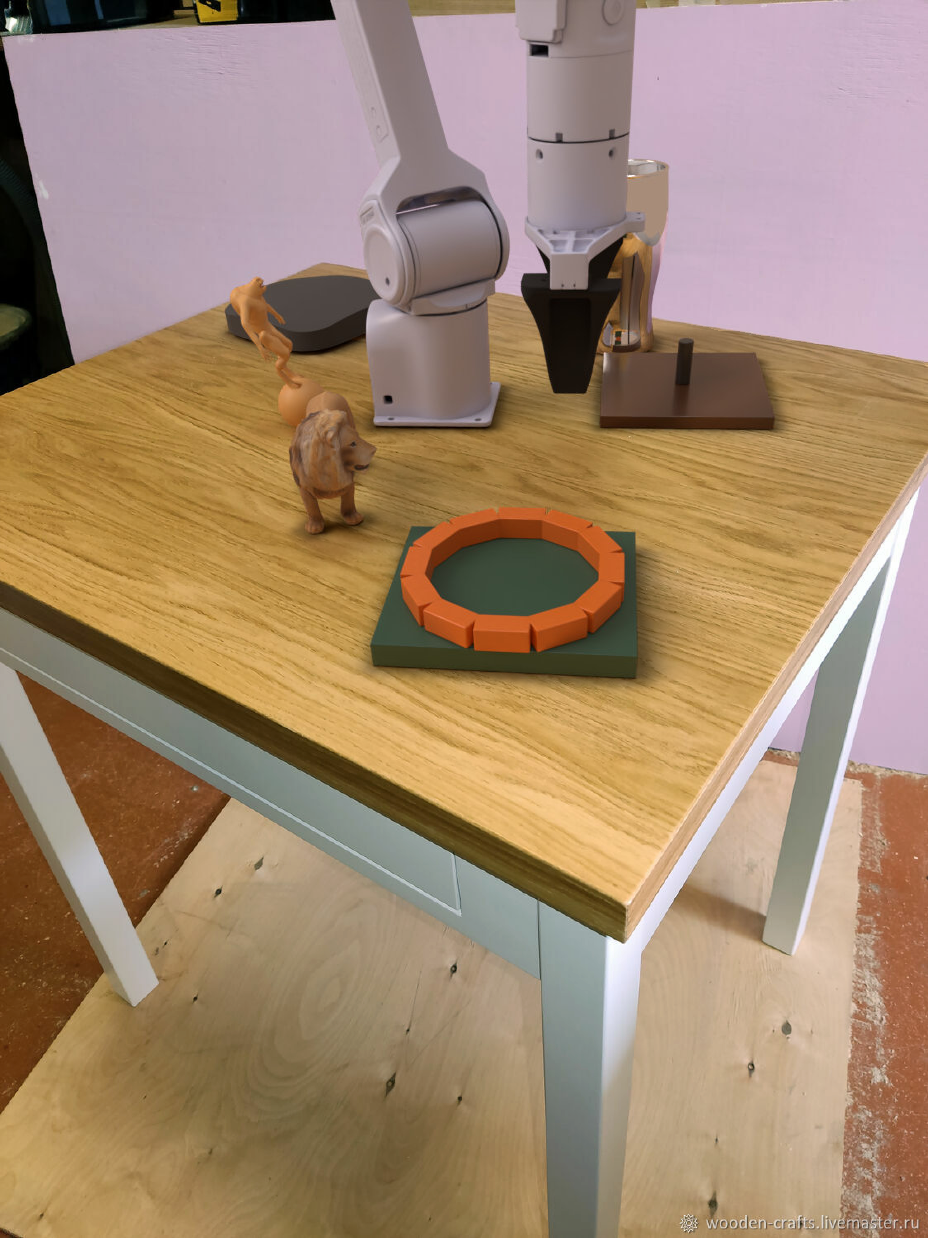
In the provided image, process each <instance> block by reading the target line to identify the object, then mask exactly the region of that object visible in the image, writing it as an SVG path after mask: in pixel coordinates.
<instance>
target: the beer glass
mask: <svg viewBox="0 0 928 1238" xmlns="http://www.w3.org/2000/svg"><path fill="white" fill-rule="evenodd" d="M669 179H670V165H669V164H668V163H666V162H664V161H661V160H655V159H645V158H628V176H627V196H626V211H627V212H643V213H645V218H646V220H645V230H644V231H642V232H634V233H626V234H624V236H623V244H622V246H621V247H620V249H619V251H618V253H617V255H616V257H615V259H614V261H613V264H612V266H611V269H610V271H609V274H608V278H621V279H622V281H621V290H620V293H619V295H618V297H617V299H616V301H615V303H614V305H613V306H612V308H611V310H610V312H609V314H608V316H607V318H606V320H605V323H604V326H603V328H602V331H601V335H600V338H599V342H598V347H597V351H596V354H599V355H603V353H648V351H650V350H651V349H652V348H653V347H654V345H655V335H654V326H653V300H654V295H655V290H656V285H657V280H658V277H659V272H660V268H661V265H662V261H663V255H664V251H665V246H666V240H667V234H668V224H669V211H670V210H669V207H670V184H669V183H670V180H669Z"/></svg>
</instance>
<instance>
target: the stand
mask: <svg viewBox="0 0 928 1238" xmlns="http://www.w3.org/2000/svg"><path fill="white" fill-rule="evenodd" d="M435 527H436V526H431V525H430V526H428V525H427V526H426V525H411V526H410V529H409V533H408V535H407V537H406V540H405V544H404V547H403V550H402V552H401V555H400V557H399V561H398V564H397V566H396V569H395V573H394V575H393V578H392V581H391V583H390V587H389V589H388V592H387V595H386V598H385V601H384V603H383V606H382V609H381V612H380V615H379V617H378V621H377V623H376V626H375V629H374V631H373V635H372V636H371V641H370V643H369V646H370V651H371V653H370V654H371V659H372V665H373V666H378V667H382V666H383V667H400V668H401V667H402V668H418V669H419V668H420V669H439V670H460V671H461V670H462V671H483V672H501V673H502V672H504V673H520V674H521V673H523V674H525V673H526V674H543V675H544V674H545V675H563V676H580V677H581V676H583V677H605V678H622V679H623V678H624V679H625V678H626V679H636V678H637V670H638V657H639V656H638V655H639V654H638V653H639V652H638V602H637V601H638V597H637V594H638V593H637V592H638V591H637V540H636V539H637V537H636V534H637V533H636V531H623V530H622V531H621V530H619V531H618V530H617V531H616V530H603V531H604V532H605V533H606V534H607V535H608V536H609V537H610V538H612V539H613V540H614V541H615V542H616V543H617V544H618V545H619V546H620V547H621V548H622V553H624V554H625V583H624V599H623V602H621V607H620V608H619V609H618V610H617V611H616V612H615V613H614V614H613V615H612V616H611V617H609V618H608V619H607V620H606V621H605V622H604V623H603V624H602V625H601V626H600V627H599V628H598V629H597V630H596V631H595V632H594V633H591V632H588V631H587V637H586V638H583V639H579V640H576V641H573V642H569V643H566V644H563V645H560V646H556V647H553V648H550V649H547V650H543V651H540V652H537V651H536V649H535V648H534V647H533V645H532V644H531V647H530V652H529V653H519V652H497V651H476V650H475V649H474V643H473V644H472V645H470V646H469V647H468V648H464V647H462V646H460V645H457V644H455V643H453V642H451V641H449V640H446V639H444V638H442V637H440V636H437V635H435V634H433V633H431V632H429V631H426V630H425V625H424V626H420V625H419V624H418V622H417V620H416V619H415V617H414V615H413V614H412V612H411V611H410V609H409V607H408V606H407V604H406V602H405V601H404V599H403V594H402V586H401V577H400V574H401V571H402V568H403V565H404V562H405V559H406V556H407V553H408V550H409V547H413V542H415V541H416V540H418V539H419V538H421V537H422V536H423V535H425V534H426V533H428V532H429V531H431V530H432V529H433V528H435ZM598 580H599V573H598V572H597V571H596V570H595V569H594V567H593V566H592V565H591V564H590V563H589V562H588V561H587V560H586V559H585V558H584V557H583V556H582V555H581V554H580V553H579V552H578V551H575V550H573V549H570V548H567V547H564V546H561V545H558V544H556V543H553V542H550V541H547V540H544V539H528V538H497V539H493V540H489V541H485V542H482V543H478V544H474V545H470V546H467V547H463V548H461V549H459V550H458V551H457V552H455V553H454V554H452V555H451V556H450V557H448V558H447V559H446V560H444V561H443V562H442V563H440V564H439V565H438V566H436V567H435V568H434V571H433V574H432V577H431V581H430V582H431V584H432V585H433V587H434V588H435V590H436V591H437V593H438V594H439V596H440V597H441V599H444V600H446V601H449V602H451V603H453V604H456V605H458V606H460V607H463V608H465V609H468V610H470V611H472V612H475V613H477V614H481V615H506V616H531V615H534V614H538V613H541V612H544V611H548V610H551V609H555V608H558V607H561V606H565V605H568V604H572V603H574V602H575V601H576V600H577V599H578V598H580V597H581V596H582V595H583V594H584V593H585V592H586V591H587V590H588V589H589V588H591V587H592V586H593V585H594V584H595V583H596V582H597V581H598Z"/></svg>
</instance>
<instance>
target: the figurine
mask: <svg viewBox="0 0 928 1238" xmlns="http://www.w3.org/2000/svg"><path fill="white" fill-rule="evenodd" d="M264 283H265V281H264V279H262V278H261V277H260V276H255V277H253V278H252V279H251V280H250V281H249V282H248V283H246V284H243V285H240V286H237V287H234V288H233V289H232V290H231V292H230V294H229V301H230V303H231V304H232V306H233V308H234V310H235V311H236V312H237V313H238V314H239V315H240V317H241V324H242V326H243V328H244V330H245V331H246V332H247V334H248V335H249V336H250V338H251V339H252V340H251V341H252V343H253V344H254V345H255V346H256V347H257V349H258V350H259V353H260V355H261V356H262V358H263V359H264V362H265V363H266V364H268V362H269V363H272V361H274V358H273V357H272V356H271V355H270V354H272V353H273V354H274V355H276V356H277V360H276V361H275V363H274V367H275V371H276V374H277V375H278V376H279V378H280V379H282V380H283V382H285V384H284V385H283V387H282V388H281V390H280V392H279V393H278V396H277V397H278V398H277V407H278V411H279V413H280V416H281V418H282V419H283V420H284V421H285V422H286V423H287V424H288V425H290V426H292V427H294V428H295V429H296V428H297V426H298V425H299V424H301V420H302V419H305V418H306V408H307V405H308V403H309V401H310V400H311V399H312V398H313V397H315V396H317V395H319V394H321V393H323V392H325V391H326V390H325V389H324V388H323V386H322V385H321V384H320V383H318V382H317V381H315V380H314V379H311V378H307V377H305V376H304V375H303V374H301V373H296V372H294V371H293V370H292V369H291V368H289V367H288V366H287V363H288V362H289V360H290V358H291V357H290V356H291V352H292V347H293V344H292V342H291V340H289V339H288V338H286V337H285V336H284V335H283V334H282V333H280V332H279V331H278V330H276V329H275V327H274V326H272V325H271V323H270V322H268V316H267V311H268V312H270V313H272V314H273V315H274V316H275V317H276V319H277V320H278V321H279V323H280V324H281V322H282V323H283V324H284V323H285V321H284V320H283V318H282V317H281V316H280V315H279V314H278V313H277V312H276V311H275V310H274V309H273V308H272V307H271V306H270V305H269V304H267V303H266V301H265V299H264V297H263V296H262V294H263V293H264V292H265V291H266V285H265V284H264ZM280 321H281V322H280ZM285 324H286V323H285ZM254 332H255V333H256V334H258V336H259V338H258V336H257V335H256V334H255V333H254ZM271 360H272V361H271Z"/></svg>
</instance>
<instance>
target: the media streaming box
mask: <svg viewBox="0 0 928 1238" xmlns="http://www.w3.org/2000/svg"><path fill="white" fill-rule="evenodd" d="M265 286H266V291H265V292H264V293H263V294H262V296H263V297H264V299H265V301H266V303H267V304H269V305H270V306H271V307H272V308H273V309H274V310H275V311H276V312H277V313H278V314H279V315H280V316H281V317H282V318H283V320H284V321H285V323H286V324H285V323H284V324H283V323H282V322H281V321H280V322H281V324H280V323H279V321H278V320H277V319H276V317H275V316H274V315H273V314H272V313H270V312H268V311H267V316H268V322H270V323H271V325H272V326H274V327H275V329H276V330H278V331H279V332H280V333H282V334H283V335H284V336H285V337H286V338H288V339H289V340H291V342H292V344H293V347H292V351H293V352H313V351H320V350H325V349H328V348H329V349H330V348H332V347H336V346H338V345H341V344H343V343H346V342H348V341H350V340H352V339H354V338H357V337H359V336H361V335H363V334H366V322H367V314H368V309H369V306H370V304H371V302H372V301H374V300H378V299H382V298H381V297H380V296H379V295H378V294H377V293H376V291H375V290H374V288H373V286H372V284H371V282H370V280H369V278H364V277H358V276H354V275H345V274H344V275H343V274H341V275H340V274H331V275H330V274H329V275H318V276H304V277H297V278H289V279H285V280H280V281H276V282H273V283H269V284H266V285H265ZM224 314H225V319H226V324H227V329H228V332H229V333H230V334H232V335H233V336H236V337H240V338H243V339H246V340H249V341H252V339H251V338H250V336H249V335H248V334H247V332H246V331H245V330H244V328H243V326H242V324H241V317H240V315H239V314H238V313H237V312H236V311H235V310H234V308H233V306H232V304H231V302H230V303H229V304H228V305H227V306H226V307H225V309H224ZM254 333H255V332H254ZM255 334H256V333H255ZM256 335H257V336H258V334H256ZM258 338H259V336H258ZM292 351H291V352H292Z"/></svg>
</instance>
